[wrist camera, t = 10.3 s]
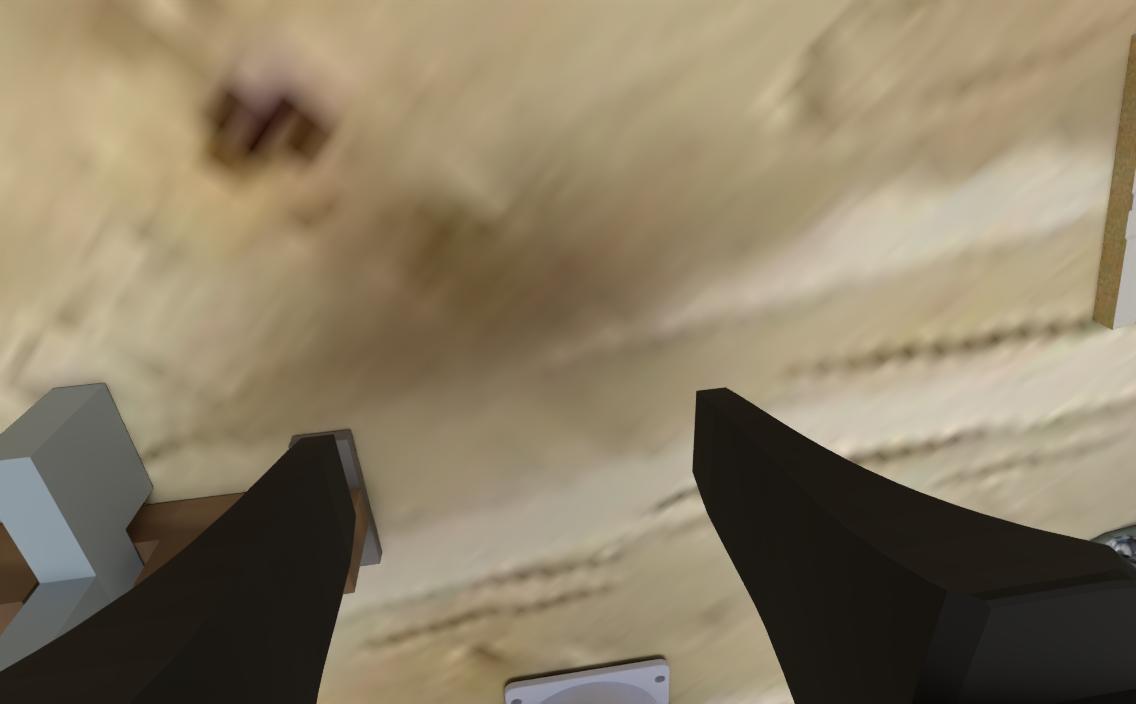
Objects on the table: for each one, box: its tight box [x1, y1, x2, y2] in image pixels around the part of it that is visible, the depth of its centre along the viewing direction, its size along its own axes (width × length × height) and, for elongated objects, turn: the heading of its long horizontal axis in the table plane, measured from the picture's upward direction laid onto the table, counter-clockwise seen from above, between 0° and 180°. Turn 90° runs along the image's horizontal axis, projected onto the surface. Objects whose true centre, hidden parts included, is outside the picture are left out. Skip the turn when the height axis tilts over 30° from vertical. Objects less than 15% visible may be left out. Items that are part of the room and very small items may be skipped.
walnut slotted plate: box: [0, 430, 382, 636], centre depth 22 cm, size 6×16×4 cm, turn 93°
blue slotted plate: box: [0, 383, 153, 671], centre depth 20 cm, size 12×2×8 cm, turn 3°
